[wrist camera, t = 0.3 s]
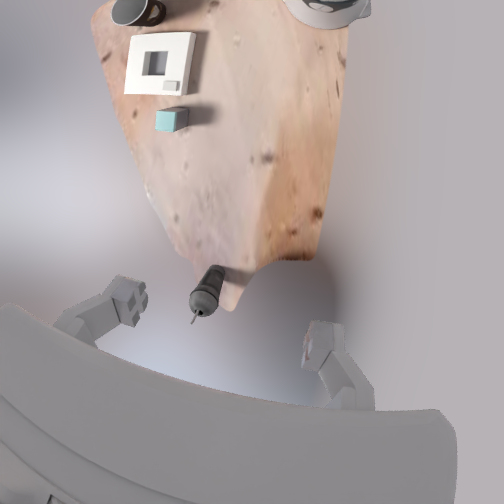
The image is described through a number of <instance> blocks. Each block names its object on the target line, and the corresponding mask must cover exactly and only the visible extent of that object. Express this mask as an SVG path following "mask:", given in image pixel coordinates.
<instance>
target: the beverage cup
mask: <svg viewBox="0 0 504 504" xmlns="http://www.w3.org/2000/svg"><path fill="white" fill-rule="evenodd" d="M224 275H225V271H224V269H223V268H222V267H221V266H219V265H212V266H210V268H209V269H208V270H207V272H206V273H205V275H204V276H203V278H202V280H201V281H200V283H199V284H198V286H197V287H196V288H195V290H194V291H193V292H192V293H191V294H190V299H189V306H190V308H191V310H192V312H193V313H194V314H195V316H194V318H193V319H192V321H191V324H193V322H194V320H195V318H196V316H200V317H206V316H209V315H211V314H212V313H214V311H215V310H216V309H217V307H218V303H219V295H220V291H221V288H222V284H223V280H224Z"/></svg>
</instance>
